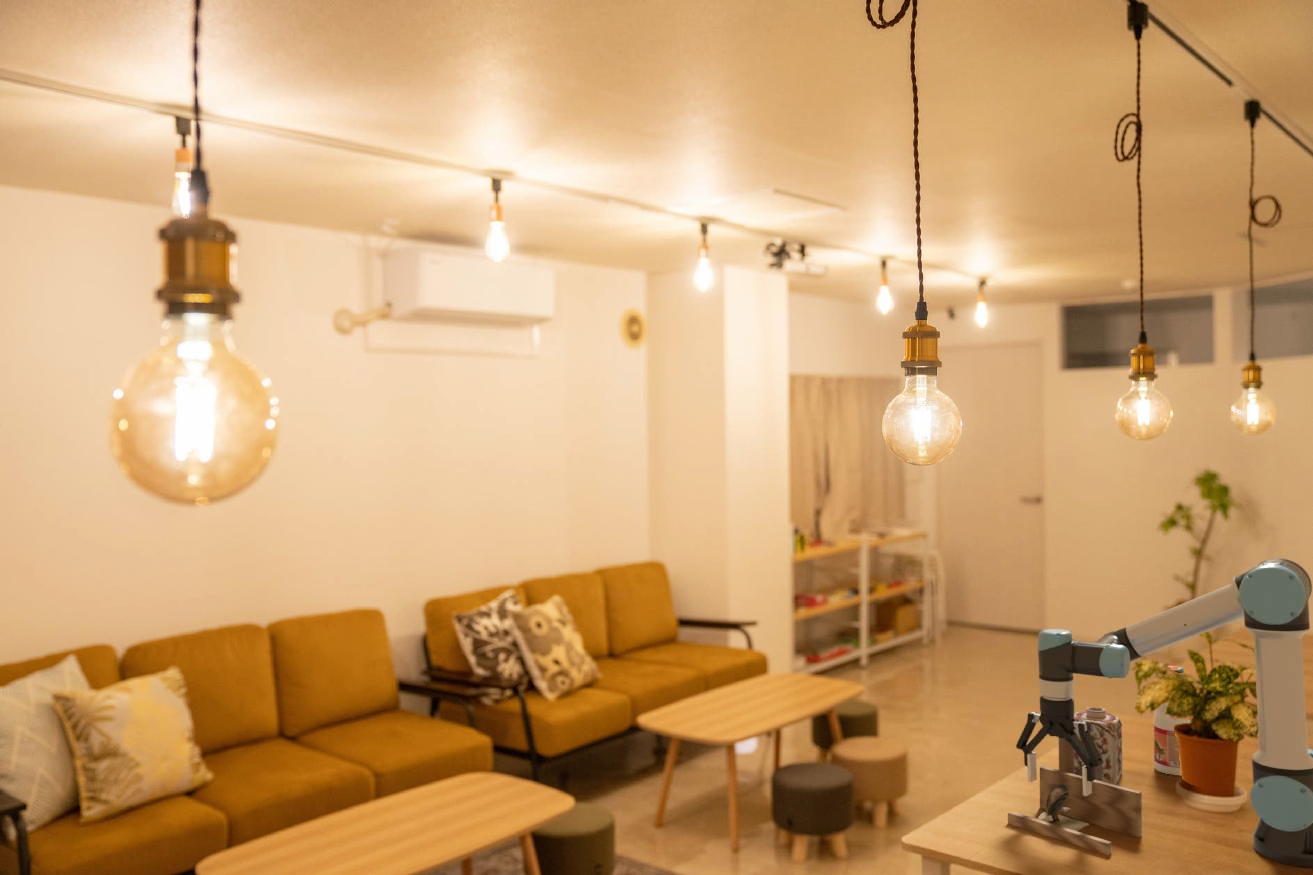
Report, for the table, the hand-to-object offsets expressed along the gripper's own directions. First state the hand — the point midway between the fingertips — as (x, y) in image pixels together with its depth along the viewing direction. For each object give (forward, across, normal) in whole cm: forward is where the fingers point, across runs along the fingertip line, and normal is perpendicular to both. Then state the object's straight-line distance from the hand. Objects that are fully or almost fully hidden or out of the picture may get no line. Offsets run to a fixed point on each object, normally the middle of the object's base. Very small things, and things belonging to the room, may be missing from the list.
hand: (1059, 787), depth 240 cm
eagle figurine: (+5, 0, -2) cm, 5 cm away
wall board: (+9, -3, 0) cm, 9 cm away
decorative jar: (+9, +11, -39) cm, 41 cm away
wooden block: (+9, +3, -14) cm, 17 cm away
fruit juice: (+9, -1, -58) cm, 59 cm away
